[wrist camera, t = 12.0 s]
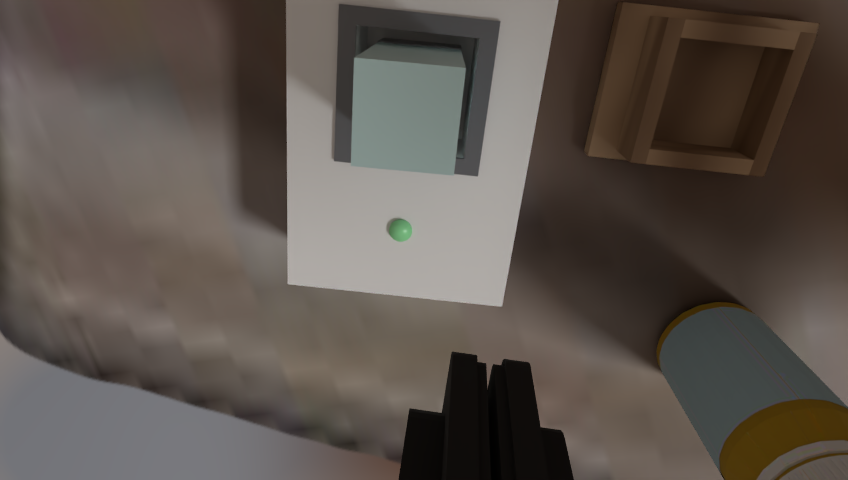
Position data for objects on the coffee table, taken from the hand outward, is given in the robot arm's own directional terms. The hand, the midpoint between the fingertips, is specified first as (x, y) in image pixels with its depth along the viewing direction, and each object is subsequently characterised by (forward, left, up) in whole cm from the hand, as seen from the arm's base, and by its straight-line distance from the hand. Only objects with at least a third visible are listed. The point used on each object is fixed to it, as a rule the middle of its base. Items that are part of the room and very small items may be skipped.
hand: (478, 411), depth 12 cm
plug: (+3, -4, -21) cm, 21 cm away
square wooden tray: (-12, -5, -22) cm, 25 cm away
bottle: (-18, +11, -22) cm, 31 cm away
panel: (+3, -1, -22) cm, 22 cm away
